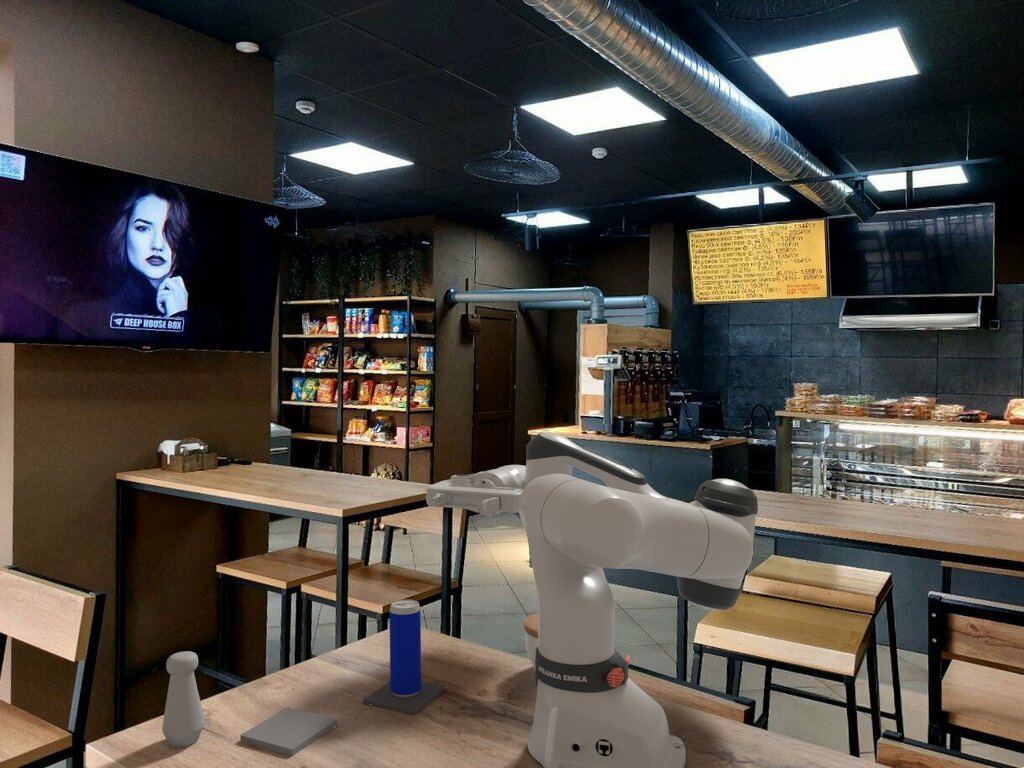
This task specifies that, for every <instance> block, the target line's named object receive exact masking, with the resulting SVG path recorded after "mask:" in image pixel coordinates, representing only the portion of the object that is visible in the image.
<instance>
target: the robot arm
mask: <svg viewBox="0 0 1024 768" xmlns="http://www.w3.org/2000/svg"><path fill="white" fill-rule="evenodd" d="M525 447H526V448H525V449H526V451H525V453H526V454H525V455H526V456H525V461H526V465H521V464H509V465H504V466H499V467H498V468H496V469H495V468H494V469H489V470H485V471H479V472H477V473H469V474H467V473H466V474H465V473H464V474H454V475H451V476H450V479H445V480H441V481H438V482H436V483H433V484H430V485H429V486H427V488H426V492H425V493H426V494H425V497H426V498H425V500H426V504H427V506H429V507H433V508H453V509H454V508H455V509H463V510H469V511H472V512H475V513H477V514H478V513H479V514H480V515H482V516H486V517H491V516H492V517H493V516H495V515H498V514H500V513H513V514H514V515H515V516H516V517H518V519H520V520H521V522H522V524H523V527H524V529H525V533H526V539H527V545H528V551H529V557H530V563H531V566H532V572H533V577H534V582H535V583H534V584H535V591H536V597H537V598H536V599H537V613H538V647H537V648H536V653H535V666H534V677H535V685H536V686H537V687H536V699H535V706H534V707H535V709H534V714H533V721H532V725H531V729H530V733H529V736H528V741H527V750H528V752H529V753H530V755H531V756H532V757H533V758H534V759H535V760H536V761H537V762H538V763H540V764H541V765H542V767H543V768H685V765H686V760H687V754H686V753H687V752H686V747H685V744H684V742H683V740H682V738H681V737H680V738H679V737H677V736H675V735H672V734H670V730H669V724H668V723H669V722H668V718H667V715H666V712H665V711H664V709H663V707H662V706H661V704H659V703H658V702H657V701H655V699H654V698H652V697H651V696H650V695H649V694H648V693H646V691H644V690H643V689H641V688H640V687H639V686H638V685H637V684H636V683H635V682H634V681H633V680H632V679H631V678H629V665H630V664H631V661H630V660H631V658H630V657H631V655H630V654H627V655H626V657H625V658H624V656H622V655H621V654H620V653H619V652H618V651H617V649H616V648H615V598H614V594H613V591H612V589H611V586H610V584H609V583H608V581H607V578H606V575H605V572H604V569H617V570H618V569H623V570H629V569H631V570H641V571H642V570H643V571H646V572H653V573H656V574H657V573H658V574H664V575H668V576H674V577H676V580H677V581H676V583H677V586H676V587H677V590H678V592H679V594H680V595H681V598H683V599H684V600H686V601H687V602H689V603H690V604H691V605H693V606H694V607H696V608H699V609H701V610H706V611H726V610H729V609H732V608H733V607H734V606H736V603H737V601H738V599H739V596H740V594H741V591H742V589H741V585H742V583H743V580H744V578H745V574H746V571H747V569H748V568H749V567H750V564H751V563H752V559H753V556H754V545H753V544H754V538H755V527H756V515H758V512H759V505H758V504H759V502H758V497H757V495H756V493H755V492H754V491H753V490H752V489H750V488H748V486H746V485H744V484H743V483H741V482H739V481H736V480H734V479H730V478H729V479H728V478H716V479H711V480H710V479H709V480H708V479H707V480H705V481H704V482H703V483H701V484H700V485H699V487H698V488H697V491H696V494H695V496H694V499H693V500H695V502H694V504H690V503H688V502H685V501H682V500H678V499H675V498H671V497H667V496H666V495H662V494H661V493H659V492H658V491H656V490H655V489H653V487H652V486H651V485H649V484H648V481H647V478H646V476H645V475H644V474H643V473H641V472H640V471H638V470H637V469H634V468H632V467H630V466H629V465H627V464H624V463H622V462H620V461H617V460H616V459H613V458H610V457H609V456H606V455H604V454H602V453H599V452H597V451H594V450H593V449H589V448H587V447H585V446H582V445H581V444H579V443H576V442H575V441H573V440H572V439H570V438H568V437H566V436H563V435H562V434H559V433H556V432H539V433H538V434H536V435H535V436H534V437H532V438H531V440H529V441H528V443H527V444H526V446H525ZM574 468H576V469H578V470H580V471H582V472H584V473H587V474H589V475H591V476H594V477H596V478H597V479H599V480H600V481H601V480H602V482H603V483H604V484H605V485H602V484H598V483H594V482H591V481H588V480H585V479H582V478H578V477H576V476H573V469H574Z"/></svg>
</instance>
